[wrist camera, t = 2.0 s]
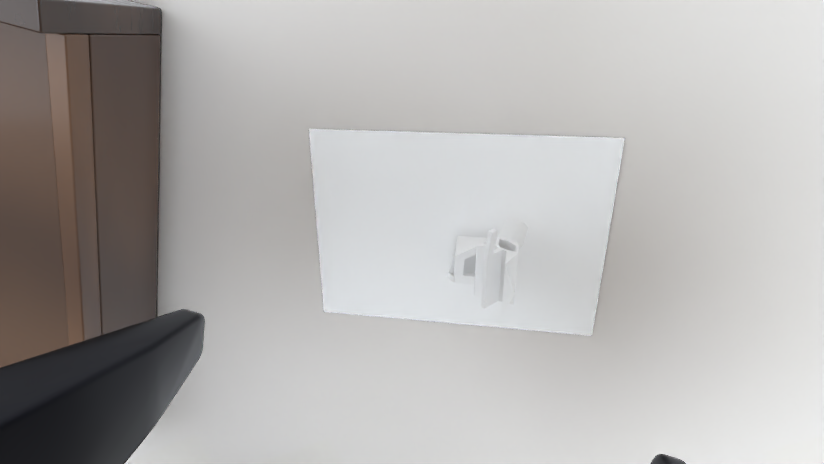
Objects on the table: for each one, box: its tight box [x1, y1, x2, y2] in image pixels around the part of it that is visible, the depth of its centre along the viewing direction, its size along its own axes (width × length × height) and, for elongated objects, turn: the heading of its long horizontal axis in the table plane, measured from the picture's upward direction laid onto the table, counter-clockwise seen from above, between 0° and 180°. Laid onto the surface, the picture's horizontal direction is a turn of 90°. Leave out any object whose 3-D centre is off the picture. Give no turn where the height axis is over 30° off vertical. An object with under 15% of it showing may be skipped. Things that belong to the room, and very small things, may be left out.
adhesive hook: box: [446, 218, 529, 317], centre depth 15 cm, size 3×3×3 cm
